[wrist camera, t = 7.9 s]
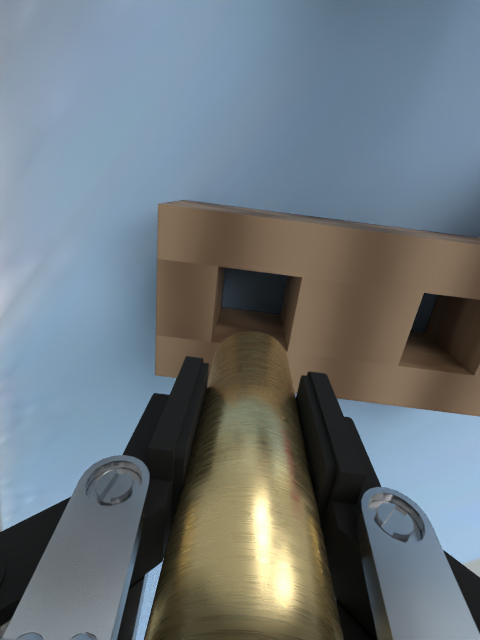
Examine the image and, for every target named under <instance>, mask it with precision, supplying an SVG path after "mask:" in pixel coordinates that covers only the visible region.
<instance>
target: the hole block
mask: <svg viewBox="0 0 480 640" xmlns="http://www.w3.org/2000/svg"><path fill="white" fill-rule="evenodd" d="M225 268H234V269H241V270H249V271H257V272H265V273H273V274H281V275H287V281H286V286H285V292H284V297H283V303H282V308H281V314H273V313H265V312H257V311H249V310H241V309H233V308H225V307H222V297H223V287H224V278H225ZM424 293H430V294H438V298H437V300H436V303H435V306H434V308H433V311H432V314H431V316H430V319H429V322H428V324H427V327H426V330H425V332H424V333H422V332H414V331H411V328H412V325H413V322H414V319H415V317H416V314H417V311H418V308H419V305H420V303H421V300H422V297H423V294H424ZM242 331H258V332H262V333H266V334H268V335H270V336H272V337H273V338H275V339H276V340H277V341H278V342H279V343H280V344H281V345H282V347H283V348H284V350H285V352H286V354H287V358H288V363H289V368H290V373H291V378H292V383H293V388H294V393H297V391H298V387H299V382H300V378H301V376H302V375H306V376H307V373H308V372H309V371H310V372H318V373H325V374H327V376H328V378H329V381H330V383H331V386H332V388H333V391H334V393H335V396H336V398H339V399H347V400H354V401H362V402H370V403H378V404H386V405H394V406H402V407H410V408H417V409H425V410H433V411H441V412H449V413H457V414H465V415H472V416H480V238H476V237H469V236H461V235H453V234H445V233H437V232H429V231H422V230H414V229H406V228H398V227H390V226H383V225H375V224H367V223H359V222H351V221H343V220H336V219H328V218H320V217H312V216H304V215H296V214H289V213H281V212H273V211H265V210H257V209H249V208H242V207H234V206H226V205H218V204H210V203H202V202H195V201H187V200H181V201H174V202H168V203H161V204H158V244H157V300H156V356H155V375H158V376H166V377H174V378H177V377H178V374H179V372H180V369H181V367H182V365H183V362H184V360H185V357H186V356H190V357H198V358H203V363H209V372H208V379H209V375H210V371H211V367H212V363H213V358H214V355H215V352H216V350H217V348H218V346H219V345H220V344H221V343H222V342H223V341H224V340H225V339H226V338H227V337H229V336H231V335H233V334H235V333H238V332H242Z"/></svg>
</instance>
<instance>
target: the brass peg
mask: <svg viewBox="0 0 480 640" xmlns="http://www.w3.org/2000/svg"><path fill="white" fill-rule="evenodd" d="M144 640H344V639H343V634H342V629H341V624H340V619H339V614H338V609H337V604H336V599H335V594H334V589H333V584H332V579H331V574H330V569H329V564H328V559H327V554H326V549H325V544H324V539H323V534H322V529H321V524H320V519H319V513H318V508H317V503H316V498H315V493H314V488H313V483H312V478H311V473H310V468H309V463H308V458H307V453H306V448H305V443H304V438H303V433H302V428H301V423H300V418H299V413H298V408H297V403H296V398H295V393H294V388H293V383H292V378H291V373H290V368H289V363H288V358H287V354H286V352H285V350H284V348H283V347H282V345H281V344H280V343H279V342H278V341H277V340H276V339H275V338H273V337H272V336H270V335H268V334H266V333H262V332H258V331H242V332H238V333H235V334H233V335H231V336H229V337H227V338H226V339H225V340H224V341H223V342H222V343H221V344H220V345H219V346H218V348H217V350H216V352H215V355H214V358H213V363H212V367H211V371H210V375H209V379H208V383H207V390H206V395H205V399H204V403H203V407H202V411H201V415H200V419H199V423H198V427H197V432H196V436H195V440H194V444H193V448H192V452H191V456H190V460H189V465H188V469H187V473H186V477H185V481H184V485H183V489H182V492H181V494H180V497H179V500H178V504H177V508H176V512H175V516H174V520H173V524H172V528H171V532H170V536H169V540H168V544H167V548H166V552H165V556H164V560H163V564H162V569H161V573H160V577H159V581H158V585H157V589H156V593H155V597H154V601H153V605H152V609H151V613H150V617H149V621H148V625H147V629H146V633H145V637H144Z"/></svg>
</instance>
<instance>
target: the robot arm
mask: <svg viewBox="0 0 480 640" xmlns="http://www.w3.org/2000/svg"><path fill="white" fill-rule="evenodd" d="M208 372H209V363H203V358H198V357H190V356H186V357H185V360H184V362H183V365H182V367H181V369H180V372H179V374H178V377H177V379H176V381H175V384H174V386H173V389H172V391H171V393H170V395H166V394H158V393H155V394H153V396H152V397H151V399H150V401H149V403H148V405H147V407H146V409H145V411H144V413H143V415H142V417H141V419H140V421H139V423H138V425H137V427H136V429H135V431H134V433H133V435H132V437H131V439H130V441H129V443H128V445H127V447H126V449H125V451H124V453H123V455H119V456H112V457H108V458H105V459H102V460H100V461H99V462H97V463H95V464H93V465H92V466H91V467H90V468H89V469H88V470H86V471H85V473H84V474H83V476H82V477H81V478H80V480H79V482H78V484H77V486H76V488H75V490H74V492H73V494H72V496H71V497H70V498H68V499H66V500H64V501H62V502H60V503H58V504H56V505H54V506H52V507H50V508H48V509H46V510H44V511H42V512H40V513H38V514H36V515H34V516H32V517H30V518H28V519H26V520H24V521H22V522H20V523H18V524H16V525H14V526H12V527H10V528H8V529H6V530H4V531H2V532H0V640H136V635H137V629H138V624H139V619H140V614H141V608H142V603H143V598H144V593H145V588H146V582H147V577H148V572H149V571H150V570H152V569H153V568H154V567H156V566H157V565H158V564H160V563H161V562H162V561H163V558H164V556H165V552H166V548H167V544H168V540H169V536H170V532H171V528H172V524H173V520H174V516H175V512H176V508H177V504H178V500H179V497H180V494H181V492H182V489H183V485H184V481H185V477H186V473H187V469H188V465H189V460H190V456H191V452H192V448H193V444H194V440H195V436H196V432H197V427H198V423H199V419H200V415H201V411H202V407H203V403H204V399H205V395H206V390H207V383H208ZM296 403H297V408H298V413H299V418H300V423H301V428H302V433H303V438H304V443H305V448H306V453H307V458H308V463H309V468H310V473H311V478H312V483H313V488H314V493H315V498H316V503H317V508H318V513H319V519H320V524H321V529H322V534H323V539H324V544H325V549H326V554H327V559H328V564H329V569H330V574H331V579H332V584H333V589H334V594H335V599H336V604H337V609H338V614H339V619H340V624H341V629H342V634H343V639H344V640H480V577H478V576H477V575H476V574H474V573H473V572H472V571H470V570H469V569H467V568H466V567H465V566H464V565H462V564H461V563H460V562H458V561H457V560H456V559H454V558H453V557H452V556H451V555H449V554H448V553H447V552H445V551H444V550H443V549H442V547H441V545H440V543H439V540H438V538H437V536H436V533H435V531H434V529H433V527H432V524H431V522H430V521H429V519H428V517H427V516H426V514H425V513H424V511H423V510H422V509H421V508H420V507H419V506H418V505H417V504H416V503H415V502H414V501H412V500H411V499H410V498H408V497H407V496H405V495H404V494H402V493H400V492H398V491H396V490H393V489H389V488H386V487H381V485H380V483H379V480H378V478H377V476H376V473H375V471H374V469H373V466H372V464H371V462H370V459H369V457H368V455H367V452H366V450H365V448H364V445H363V443H362V441H361V438H360V436H359V434H358V431H357V429H356V427H355V424H354V422H353V420H352V419H351V418H349V417H344V416H343V414H342V411H341V409H340V406H339V403H338V401H337V398H336V396H335V393H334V391H333V388H332V386H331V383H330V381H329V378H328V376H327V374H325V373H318V372H310V371H309V372H308V373H307V376H306V375H302V376H301V378H300V382H299V387H298V391H297V396H296Z"/></svg>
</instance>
